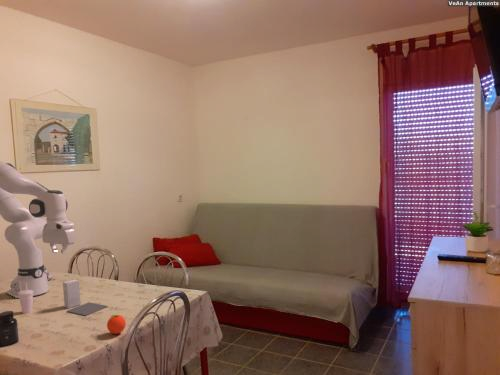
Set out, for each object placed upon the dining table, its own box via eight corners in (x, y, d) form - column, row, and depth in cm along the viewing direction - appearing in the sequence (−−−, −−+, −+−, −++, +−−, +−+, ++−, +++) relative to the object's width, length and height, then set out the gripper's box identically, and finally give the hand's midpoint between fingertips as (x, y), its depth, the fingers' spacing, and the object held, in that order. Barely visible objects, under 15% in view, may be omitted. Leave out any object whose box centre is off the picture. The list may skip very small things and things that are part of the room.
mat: (66, 311, 178) (66, 310, 178) (89, 303, 188) (88, 302, 188) (85, 316, 171) (85, 315, 171) (107, 306, 182) (107, 305, 182)
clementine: (103, 332, 153) (102, 315, 152) (120, 327, 158) (118, 309, 157) (112, 338, 147) (111, 320, 147) (129, 332, 152) (128, 314, 152)
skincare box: (76, 303, 189) (75, 278, 188) (81, 305, 186) (79, 280, 185) (63, 307, 184) (62, 282, 183) (68, 309, 181) (66, 283, 180)
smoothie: (38, 310, 181) (36, 280, 180) (26, 315, 175) (24, 285, 174) (28, 309, 183) (25, 280, 182) (15, 314, 177) (13, 284, 176)
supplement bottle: (-6, 350, 142) (-8, 317, 141) (1, 342, 148) (-2, 311, 148) (15, 346, 144) (13, 315, 143) (21, 339, 150) (18, 308, 150)
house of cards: (60, 276, 240) (59, 264, 240) (51, 280, 232) (50, 268, 231) (47, 276, 242) (46, 264, 242) (37, 280, 233) (36, 268, 233)
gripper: (37, 224, 188) (39, 252, 189) (64, 226, 178) (66, 255, 179) (49, 222, 194) (52, 249, 195) (76, 223, 184) (78, 252, 185)
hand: (59, 252), depth 187 cm, fingers open, 5 cm apart
